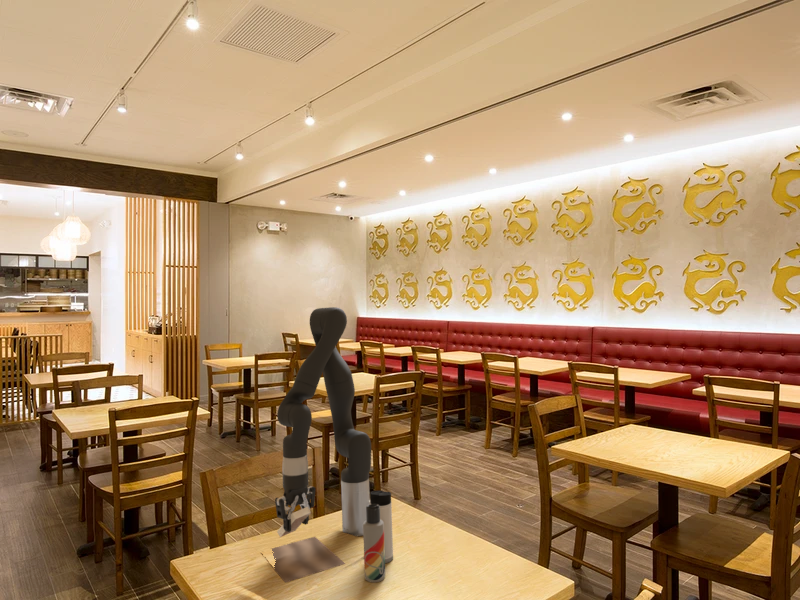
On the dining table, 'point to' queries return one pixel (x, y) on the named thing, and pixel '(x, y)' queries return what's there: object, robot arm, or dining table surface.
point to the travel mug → (385, 519)
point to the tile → (295, 521)
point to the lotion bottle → (374, 544)
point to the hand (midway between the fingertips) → (296, 527)
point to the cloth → (303, 559)
